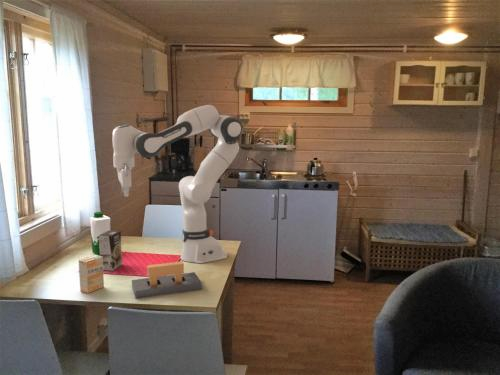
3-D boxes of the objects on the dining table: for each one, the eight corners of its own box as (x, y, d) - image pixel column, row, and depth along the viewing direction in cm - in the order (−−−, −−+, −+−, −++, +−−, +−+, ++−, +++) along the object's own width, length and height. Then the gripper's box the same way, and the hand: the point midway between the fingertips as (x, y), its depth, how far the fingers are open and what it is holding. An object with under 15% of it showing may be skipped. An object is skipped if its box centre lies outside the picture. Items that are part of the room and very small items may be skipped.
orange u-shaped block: (182, 284, 189) (182, 261, 187) (184, 287, 186) (183, 263, 185) (148, 289, 184) (147, 265, 183) (149, 292, 182) (148, 267, 180)
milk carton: (107, 248, 236) (105, 210, 232) (114, 253, 229) (112, 214, 225) (90, 252, 230) (87, 213, 227) (96, 256, 223) (94, 216, 220)
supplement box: (88, 294, 179) (86, 262, 177) (79, 291, 182) (77, 259, 180) (104, 287, 186) (103, 256, 184) (96, 284, 189) (95, 254, 186)
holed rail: (194, 278, 195) (194, 272, 195) (201, 289, 184) (201, 282, 184) (131, 287, 186) (131, 280, 186) (135, 298, 175) (135, 291, 175)
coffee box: (113, 271, 204) (111, 236, 201) (99, 270, 206) (98, 235, 203) (122, 264, 213) (121, 230, 210) (110, 263, 214) (108, 229, 211)
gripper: (134, 165, 190) (135, 198, 192) (129, 160, 209) (130, 190, 211) (118, 166, 188) (120, 199, 190) (114, 160, 207) (115, 190, 209)
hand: (125, 194), depth 201 cm, fingers open, 8 cm apart
